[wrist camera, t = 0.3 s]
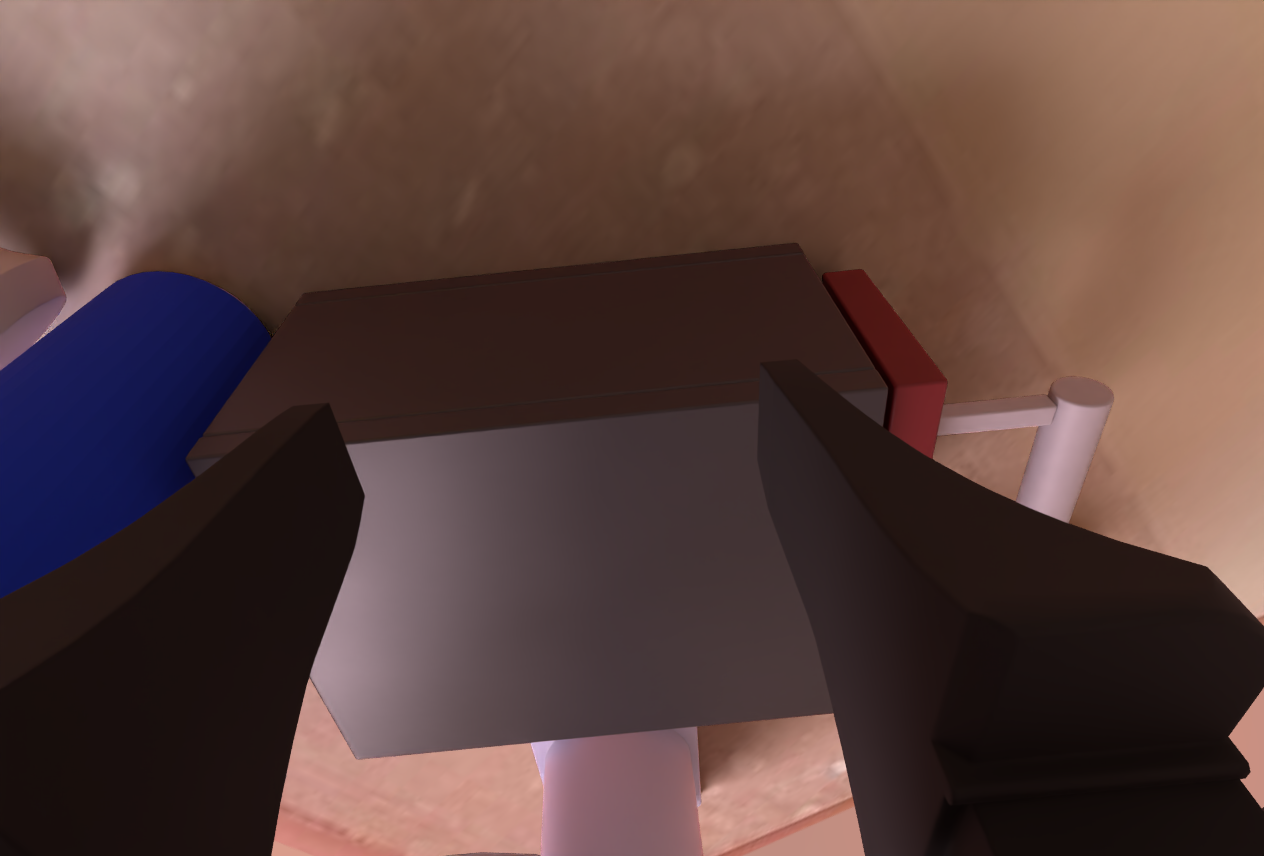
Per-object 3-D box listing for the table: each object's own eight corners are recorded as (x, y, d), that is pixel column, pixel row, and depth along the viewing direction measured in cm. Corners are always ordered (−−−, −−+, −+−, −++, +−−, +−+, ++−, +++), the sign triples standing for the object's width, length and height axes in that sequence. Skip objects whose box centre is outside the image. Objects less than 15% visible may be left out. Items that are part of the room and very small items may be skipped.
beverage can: (176, 226, 20) (-460, 707, 8) (322, 358, 23) (19, 876, 10) (64, 327, 22) (-621, 865, 9) (213, 440, 24) (-167, 979, 12)
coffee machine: (797, 242, 21) (890, 387, 15) (783, 528, 28) (841, 713, 22) (302, 292, 21) (182, 459, 15) (407, 566, 28) (355, 761, 22)
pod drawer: (1033, 250, 21) (1174, 358, 16) (966, 516, 27) (1052, 654, 22) (396, 314, 21) (338, 442, 16) (473, 565, 27) (448, 713, 22)
